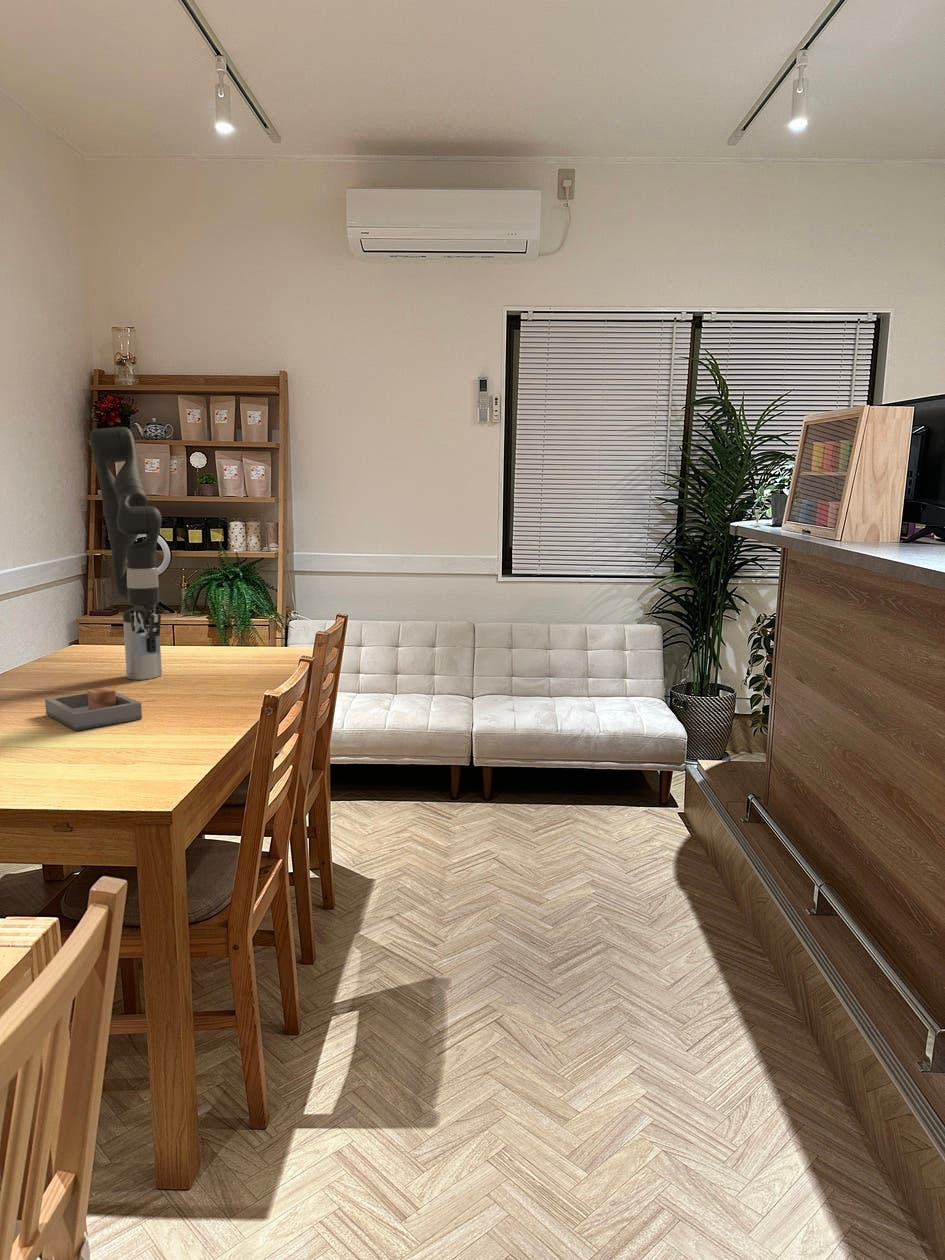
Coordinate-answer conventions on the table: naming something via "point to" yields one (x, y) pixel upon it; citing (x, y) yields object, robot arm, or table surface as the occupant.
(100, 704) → the terracotta block
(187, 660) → the table surface
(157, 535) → the robot arm
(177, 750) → the table surface
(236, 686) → the table surface
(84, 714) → the charcoal tray
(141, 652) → the grey block
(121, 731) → the table surface
